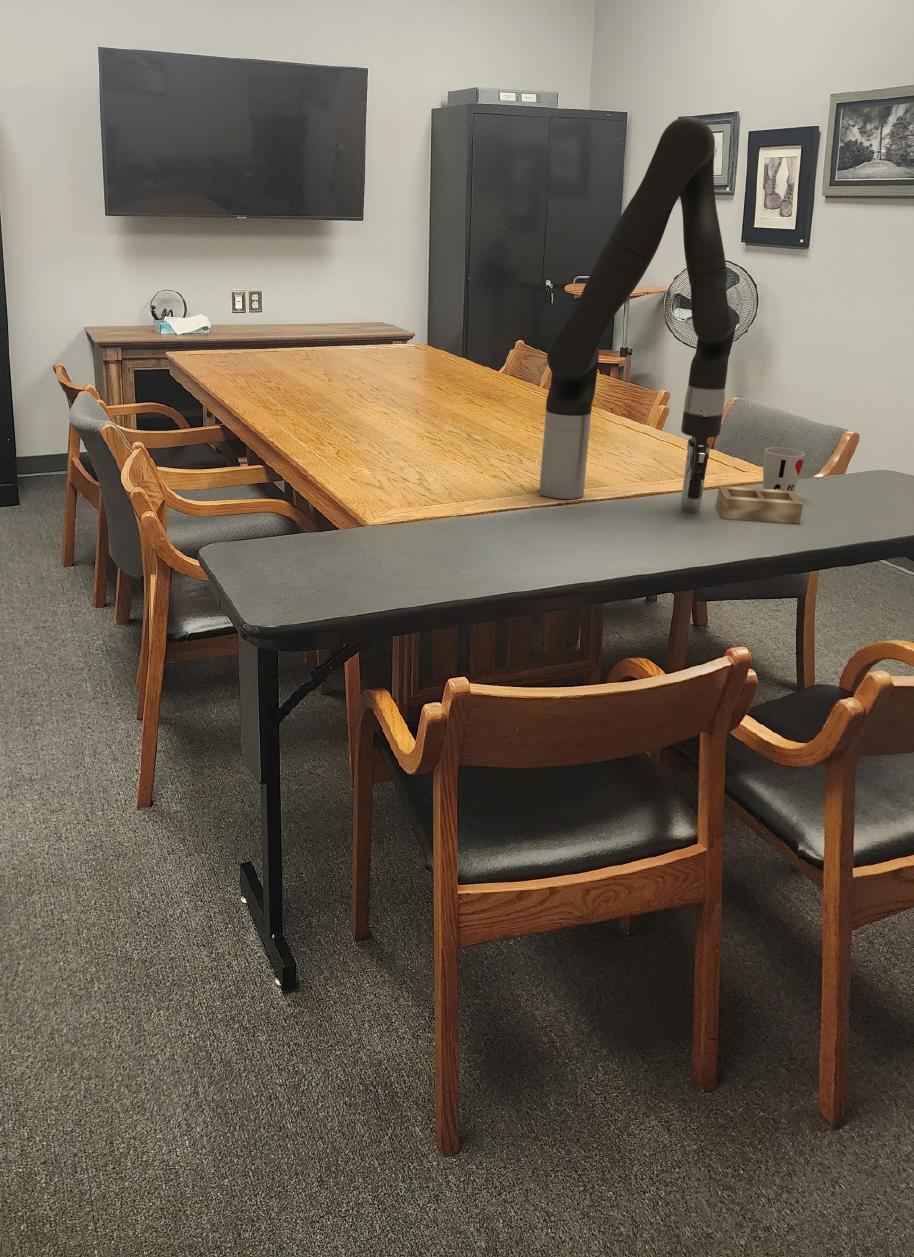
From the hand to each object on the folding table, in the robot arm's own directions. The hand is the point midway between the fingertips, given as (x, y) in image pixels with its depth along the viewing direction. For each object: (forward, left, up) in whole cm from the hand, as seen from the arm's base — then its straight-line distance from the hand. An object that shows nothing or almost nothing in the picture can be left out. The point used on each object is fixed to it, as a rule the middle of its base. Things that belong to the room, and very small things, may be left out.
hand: (692, 495), depth 212 cm
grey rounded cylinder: (0, 0, -3) cm, 3 cm away
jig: (+13, +1, -3) cm, 14 cm away
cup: (+20, +15, -3) cm, 25 cm away
